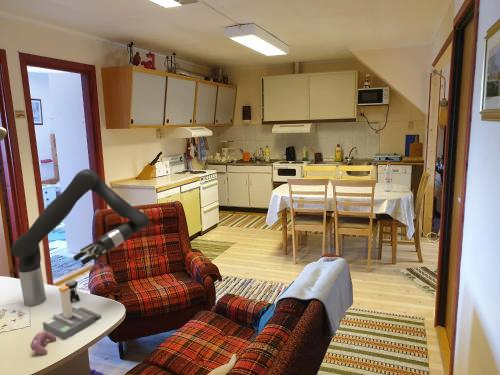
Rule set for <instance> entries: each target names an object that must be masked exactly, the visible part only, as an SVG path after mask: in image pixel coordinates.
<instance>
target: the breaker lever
mask: <svg viewBox="0 0 500 375" xmlns="http://www.w3.org/2000/svg"><path fill="white" fill-rule="evenodd" d="M58 291H59V295H60V301H61V309H62V313H63V316H64V318H66V319H68V320H71V319H73V314H72V308H73V307H72V304H71V303H72V302H71V301H70V295H69V287H68V286H65V285H62V286H61V287H58Z"/></svg>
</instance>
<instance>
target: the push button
mask: <svg viewBox="0 0 500 375" xmlns="http://www.w3.org/2000/svg"><path fill="white" fill-rule="evenodd" d="M64 286H68V287H69V295H70V301H71V303H76V302H79V301H80V295H79V293H78V291H77V287H78V281H76V280H75V279H70V280H68V281H67V282H66V283H65V285H64Z"/></svg>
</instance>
